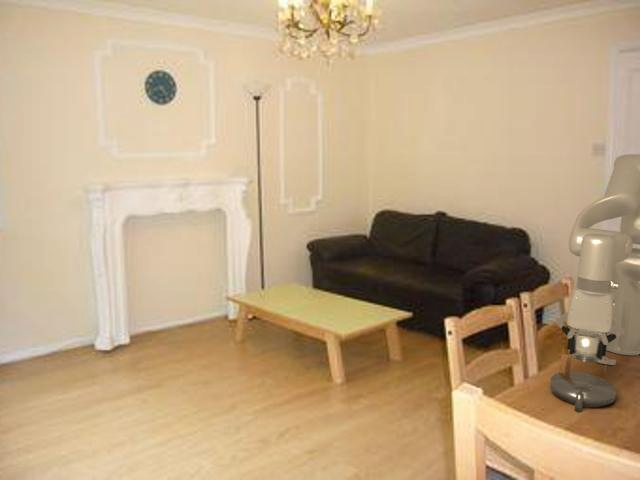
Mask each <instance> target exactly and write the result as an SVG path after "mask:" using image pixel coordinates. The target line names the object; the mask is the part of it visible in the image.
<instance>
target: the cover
mask: <svg viewBox="0 0 640 480" xmlns="http://www.w3.org/2000/svg"><path fill="white" fill-rule="evenodd" d="M601 339H602V338H601V335H600V333H598V332H592V331H585V330H576V332H575V333H574V347H573V354H572V356H571V357H572V358H574V359H575V360H577V361H579V362H583V363H598V361H599V351H600V343H601Z"/></svg>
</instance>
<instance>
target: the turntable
mask: <svg viewBox="0 0 640 480" xmlns="http://www.w3.org/2000/svg"><path fill="white" fill-rule="evenodd" d="M572 358H573V356H570V354H569V355H568V354H565V353H564V354H560V362H559V363H560V364H559V372H557V373H555V374H553V375H552V376H550V382H549V388H550V390H551V392H552V393H554V395H556V396H557V397H558V396H559V397H558V398H560V397H561V398H563V399H566V400H569V401H572V402H575V401H576V393H577V392H579V390H582V393H583V394H584V397H583V404H584V405H595V406H599V405H604V406H607V405H610V404H612V403H614V402H615V400H616V394H617V389H616V387H615V386H614V384H613V383H610V382H609V381H608V380H606V379H603V378H601V377H599V376H596V375H592V374H589V373H582V372H575V371H572V372H571V367H572V366H571V365H572ZM561 398H560V399H561ZM563 399H562V400H563Z"/></svg>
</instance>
